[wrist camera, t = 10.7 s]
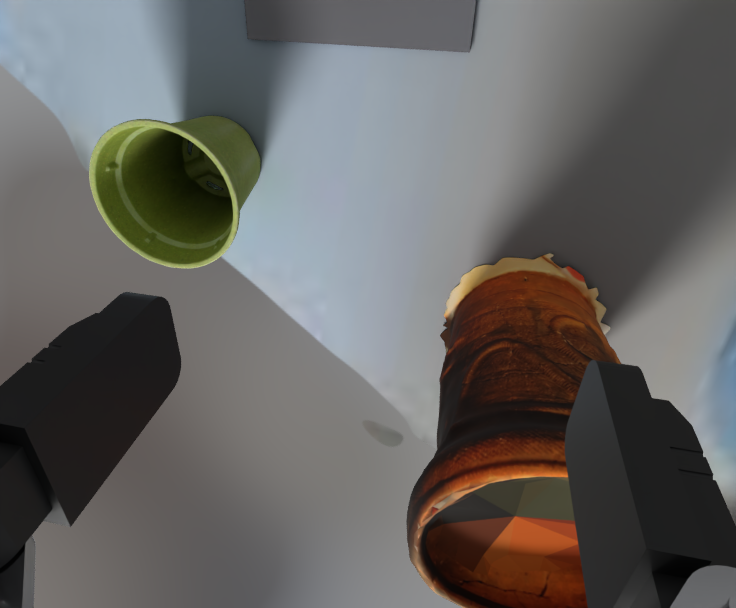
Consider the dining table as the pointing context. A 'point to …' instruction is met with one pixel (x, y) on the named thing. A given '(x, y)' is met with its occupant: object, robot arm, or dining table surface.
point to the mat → (365, 22)
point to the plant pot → (174, 186)
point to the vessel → (507, 439)
